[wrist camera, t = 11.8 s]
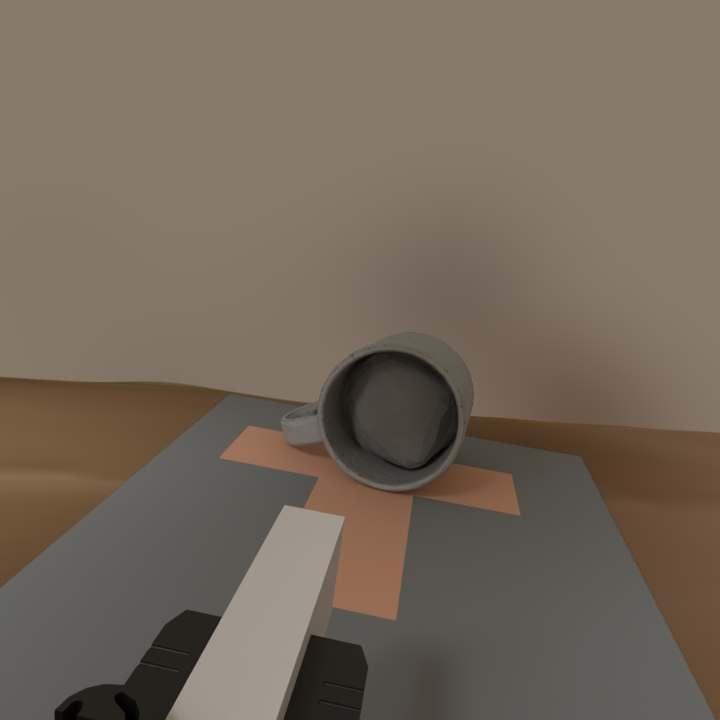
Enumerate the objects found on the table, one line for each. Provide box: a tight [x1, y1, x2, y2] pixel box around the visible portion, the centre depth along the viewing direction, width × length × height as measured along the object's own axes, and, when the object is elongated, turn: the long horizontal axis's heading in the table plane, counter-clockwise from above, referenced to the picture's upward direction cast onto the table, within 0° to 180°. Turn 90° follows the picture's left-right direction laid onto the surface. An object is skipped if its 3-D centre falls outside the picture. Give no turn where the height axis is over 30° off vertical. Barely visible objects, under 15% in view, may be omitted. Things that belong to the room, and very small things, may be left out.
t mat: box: [0, 393, 715, 720], centre depth 27 cm, size 24×30×1 cm
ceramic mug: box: [281, 332, 474, 492], centre depth 35 cm, size 11×8×8 cm
